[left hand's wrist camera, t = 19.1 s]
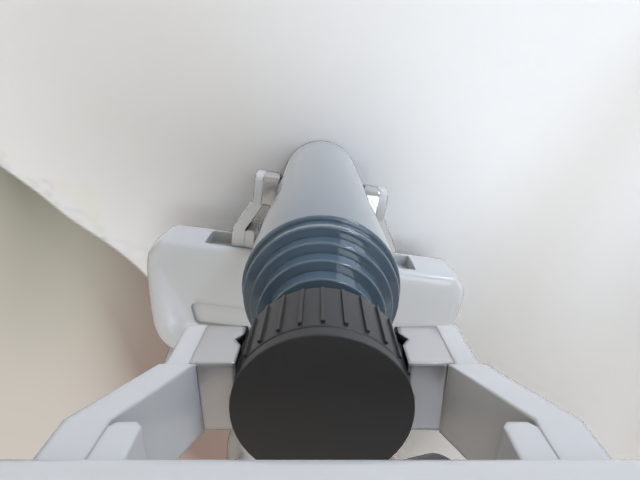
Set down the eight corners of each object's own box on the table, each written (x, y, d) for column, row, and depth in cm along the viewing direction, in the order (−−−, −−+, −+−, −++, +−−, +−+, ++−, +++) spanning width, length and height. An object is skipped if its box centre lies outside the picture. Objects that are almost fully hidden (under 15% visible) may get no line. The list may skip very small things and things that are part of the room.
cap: (210, 337, 10) (185, 393, 8) (345, 254, 9) (351, 296, 8) (301, 438, 11) (298, 508, 9) (428, 372, 11) (452, 434, 9)
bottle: (332, 126, 29) (369, 242, 8) (368, 188, 31) (482, 428, 9) (271, 165, 30) (150, 364, 9) (309, 222, 32) (286, 514, 10)
